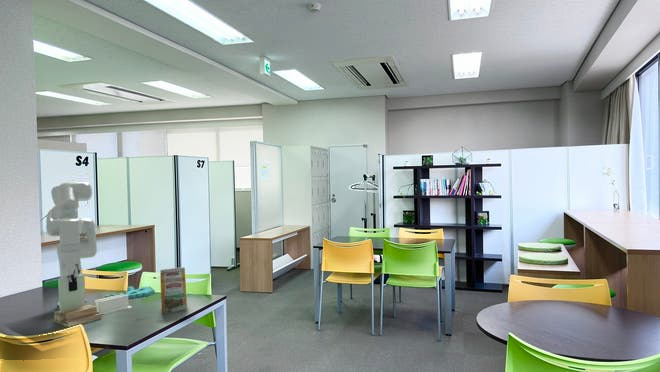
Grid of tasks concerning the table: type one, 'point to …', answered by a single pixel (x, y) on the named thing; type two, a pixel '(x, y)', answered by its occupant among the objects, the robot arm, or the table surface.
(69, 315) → the offcut upper
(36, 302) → the table surface
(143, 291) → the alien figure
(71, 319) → the offcut lower
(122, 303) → the stand
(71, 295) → the sheet
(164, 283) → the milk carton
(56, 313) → the rack
